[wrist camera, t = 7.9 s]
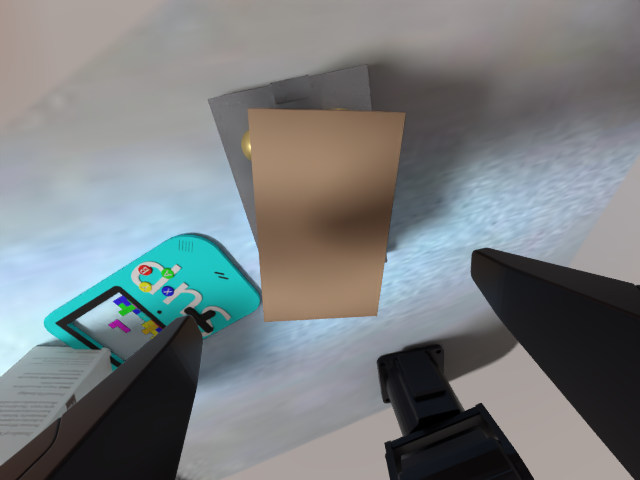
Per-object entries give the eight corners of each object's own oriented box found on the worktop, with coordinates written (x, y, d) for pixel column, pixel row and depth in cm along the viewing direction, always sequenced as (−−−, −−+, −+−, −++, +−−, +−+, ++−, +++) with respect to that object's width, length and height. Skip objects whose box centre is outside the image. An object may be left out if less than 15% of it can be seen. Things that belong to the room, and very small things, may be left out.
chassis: (382, 254, 22) (410, 297, 17) (271, 279, 22) (267, 330, 17) (361, 67, 17) (394, 50, 12) (212, 99, 17) (180, 97, 11)
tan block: (359, 275, 19) (376, 315, 15) (268, 279, 18) (264, 321, 15) (376, 110, 14) (405, 112, 11) (257, 107, 14) (247, 108, 10)
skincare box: (126, 407, 27) (-32, 708, 13) (55, 409, 26) (-192, 734, 12) (110, 341, 23) (-127, 660, 10) (26, 340, 22) (-359, 690, 9)
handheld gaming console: (265, 306, 23) (122, 385, 25) (266, 299, 23) (128, 375, 26) (193, 225, 19) (33, 325, 21) (197, 219, 20) (44, 315, 22)
